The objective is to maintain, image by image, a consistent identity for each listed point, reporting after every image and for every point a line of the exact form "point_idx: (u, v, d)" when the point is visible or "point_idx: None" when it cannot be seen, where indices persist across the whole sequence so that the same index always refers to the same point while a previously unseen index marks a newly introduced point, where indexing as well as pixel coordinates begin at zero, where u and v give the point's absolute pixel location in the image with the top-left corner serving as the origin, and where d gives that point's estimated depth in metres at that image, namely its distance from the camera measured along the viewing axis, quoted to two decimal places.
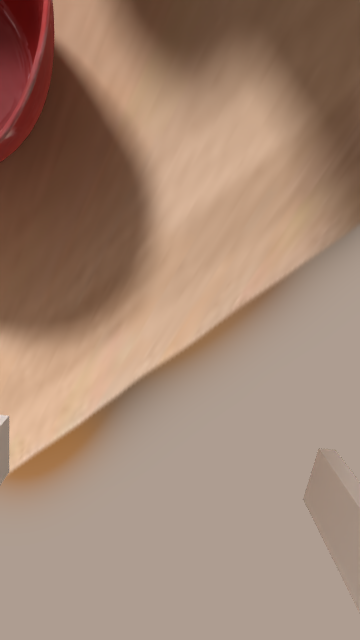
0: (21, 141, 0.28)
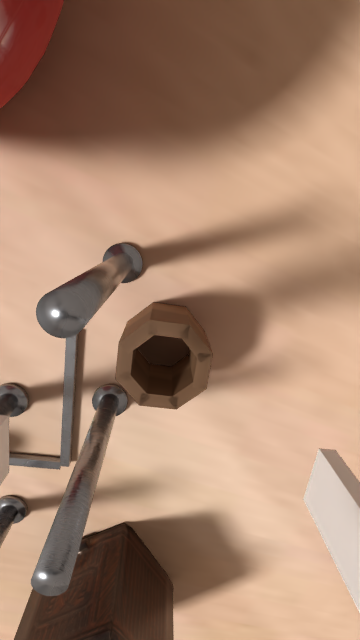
0: None
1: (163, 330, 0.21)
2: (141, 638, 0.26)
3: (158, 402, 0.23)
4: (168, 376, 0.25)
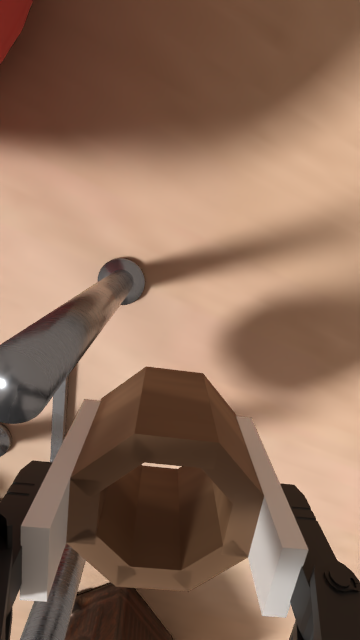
0: None
1: (163, 453, 0.10)
2: None
3: (152, 580, 0.11)
4: (172, 500, 0.14)
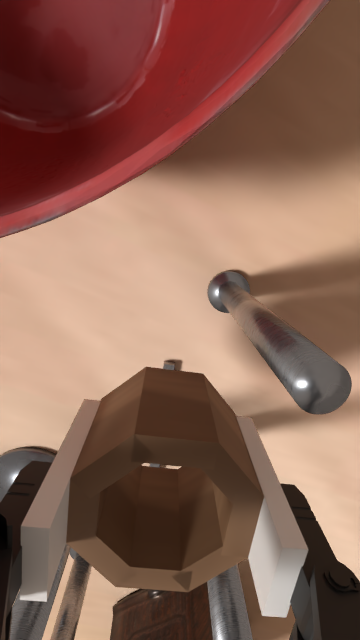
0: None
1: (163, 454, 0.10)
2: None
3: (152, 580, 0.11)
4: (172, 500, 0.14)
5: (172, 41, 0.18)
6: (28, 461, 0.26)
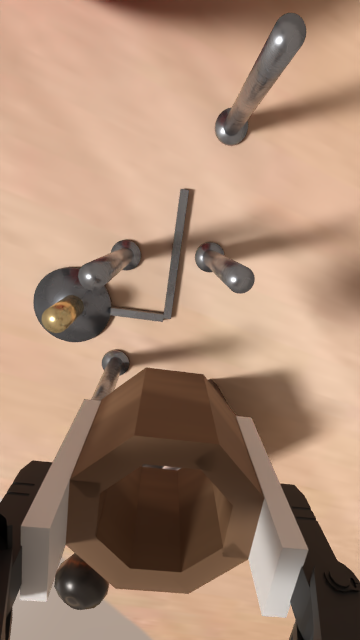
0: None
1: (163, 455, 0.10)
2: None
3: (152, 582, 0.11)
4: (172, 501, 0.14)
5: None
6: (71, 277, 0.33)
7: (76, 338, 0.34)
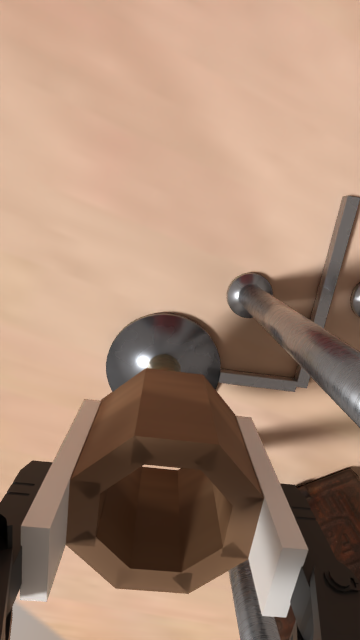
0: None
1: (163, 455, 0.10)
2: None
3: (152, 582, 0.11)
4: (172, 501, 0.14)
5: None
6: (166, 328, 0.21)
7: None
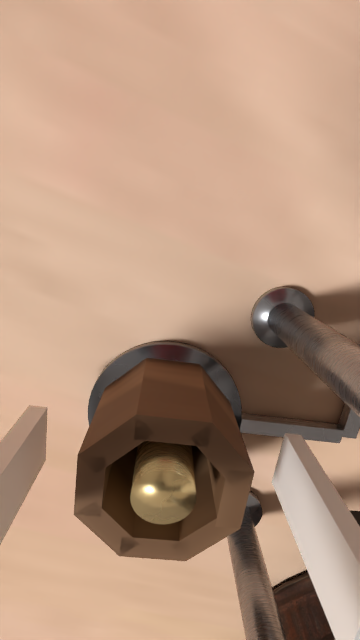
0: None
1: (162, 432, 0.11)
2: None
3: (153, 550, 0.13)
4: None
5: None
6: None
7: None
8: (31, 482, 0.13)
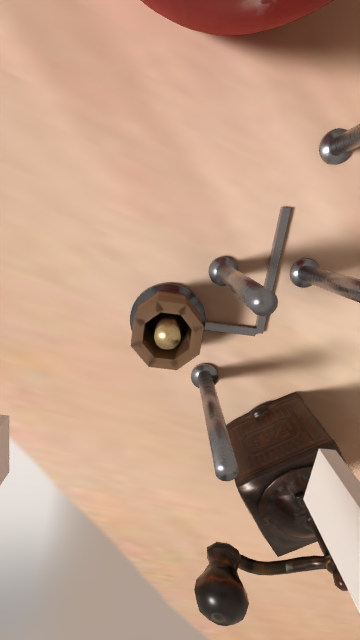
0: None
1: (167, 308, 0.28)
2: None
3: (162, 364, 0.30)
4: None
5: None
6: None
7: None
8: None
